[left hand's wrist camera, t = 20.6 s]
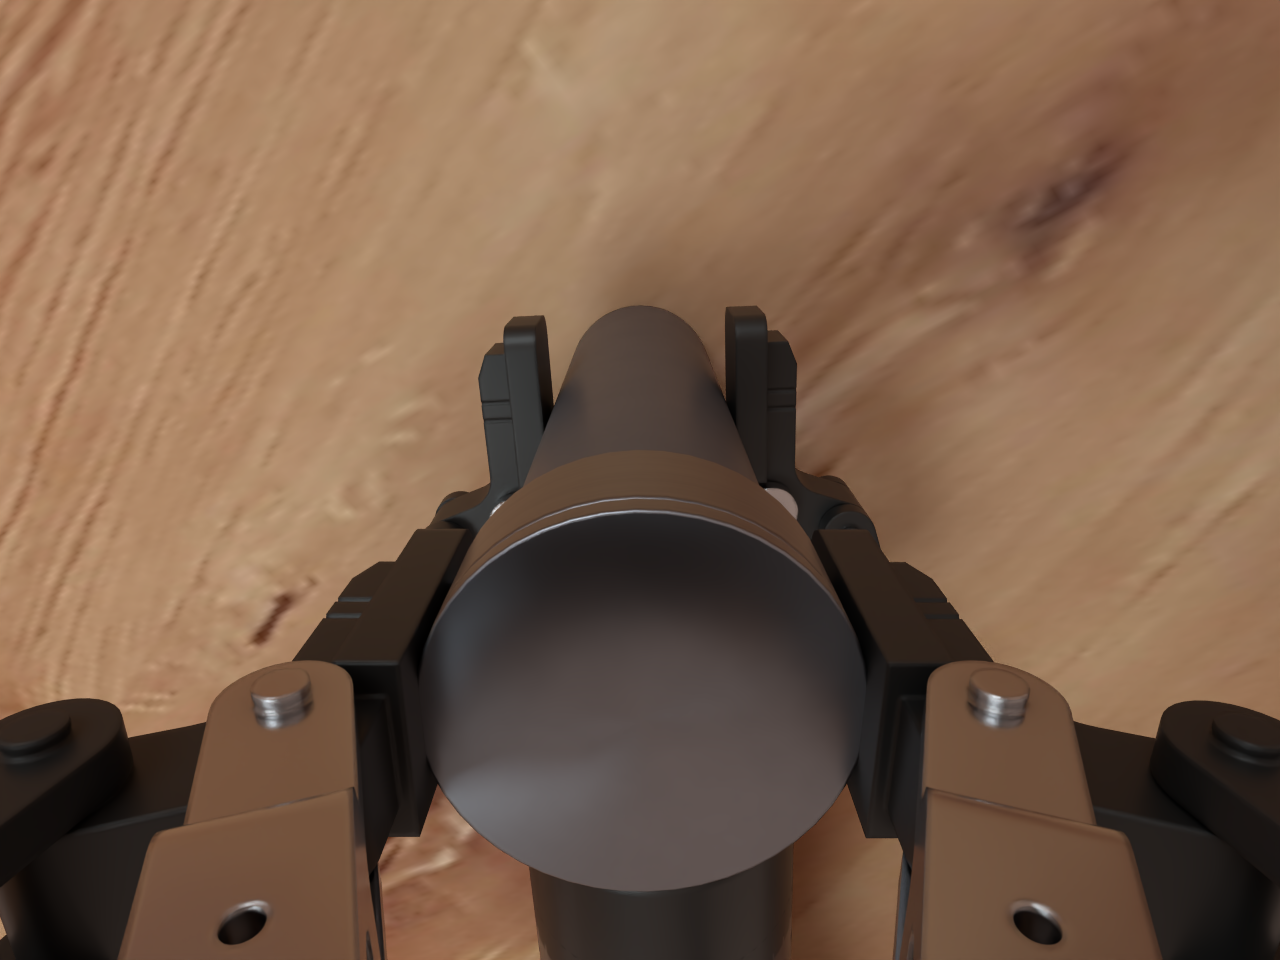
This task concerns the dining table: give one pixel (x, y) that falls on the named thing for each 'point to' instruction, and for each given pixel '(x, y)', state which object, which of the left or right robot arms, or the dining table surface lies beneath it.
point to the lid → (642, 676)
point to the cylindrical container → (640, 396)
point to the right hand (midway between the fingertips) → (633, 319)
